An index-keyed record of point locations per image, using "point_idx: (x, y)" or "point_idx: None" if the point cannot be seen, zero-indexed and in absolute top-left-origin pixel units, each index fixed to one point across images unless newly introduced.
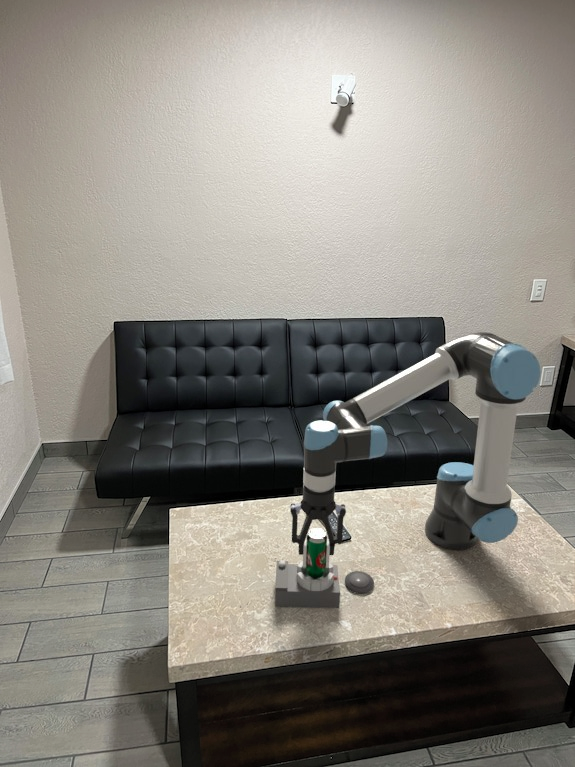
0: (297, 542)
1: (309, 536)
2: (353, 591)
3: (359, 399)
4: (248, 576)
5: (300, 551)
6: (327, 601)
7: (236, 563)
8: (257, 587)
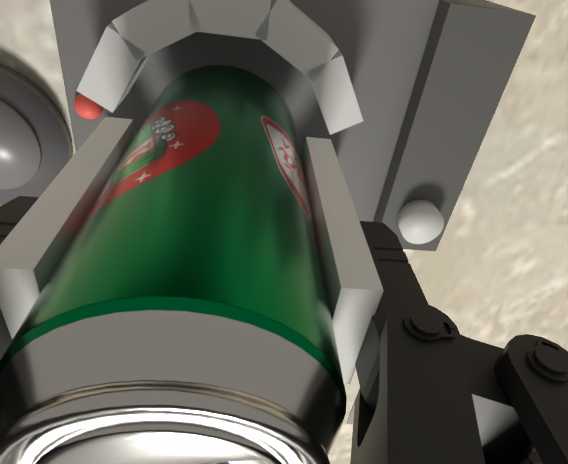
0: (464, 342)
1: (321, 452)
2: (14, 73)
3: None
4: (514, 208)
5: (382, 246)
6: None
7: (531, 273)
8: (501, 142)
